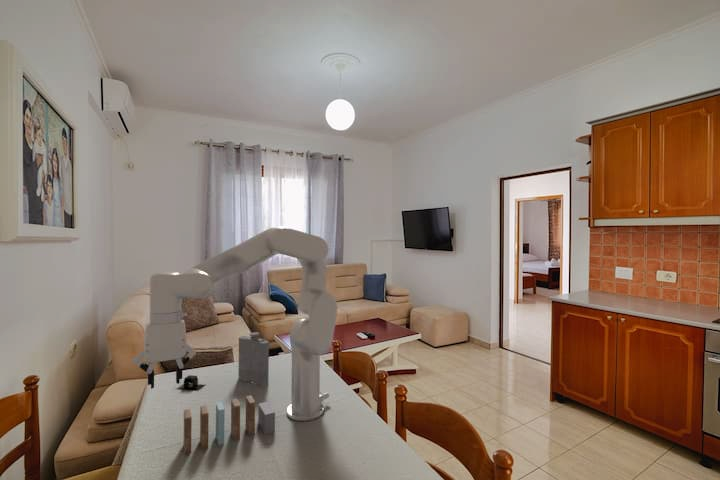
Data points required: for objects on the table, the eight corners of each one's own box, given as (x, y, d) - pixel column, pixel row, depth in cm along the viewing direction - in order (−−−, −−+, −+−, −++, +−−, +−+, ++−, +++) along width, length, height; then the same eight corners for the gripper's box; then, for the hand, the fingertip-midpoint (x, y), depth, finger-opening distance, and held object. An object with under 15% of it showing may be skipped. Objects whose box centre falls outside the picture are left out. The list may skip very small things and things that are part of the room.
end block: (267, 419, 111) (267, 401, 111) (274, 431, 104) (275, 412, 104) (258, 422, 109) (258, 403, 109) (265, 434, 102) (265, 414, 102)
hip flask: (236, 379, 143) (237, 331, 143) (244, 375, 146) (244, 329, 146) (264, 387, 135) (264, 337, 135) (271, 383, 138) (272, 334, 138)
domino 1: (189, 443, 98) (190, 408, 98) (191, 452, 93) (191, 416, 93) (183, 445, 97) (183, 410, 97) (184, 454, 93) (185, 418, 93)
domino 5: (250, 426, 107) (251, 395, 107) (254, 434, 102) (255, 401, 102) (245, 428, 106) (245, 396, 106) (249, 436, 102) (249, 403, 101)
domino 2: (206, 439, 100) (206, 405, 100) (208, 448, 96) (208, 412, 96) (200, 440, 99) (200, 406, 99) (202, 449, 95) (202, 414, 95)
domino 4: (236, 430, 104) (236, 398, 104) (239, 439, 100) (240, 405, 100) (231, 432, 104) (231, 399, 104) (234, 440, 99) (234, 406, 99)
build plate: (170, 391, 132) (170, 379, 132) (182, 383, 139) (182, 372, 139) (200, 393, 131) (200, 381, 131) (210, 385, 138) (210, 374, 138)
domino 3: (221, 434, 102) (221, 401, 102) (224, 443, 98) (224, 409, 98) (215, 436, 101) (215, 403, 101) (218, 445, 97) (218, 410, 97)
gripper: (199, 312, 100) (198, 373, 100) (128, 318, 91) (128, 385, 91) (202, 317, 94) (201, 382, 94) (126, 324, 85) (126, 397, 85)
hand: (165, 383), depth 92 cm, fingers open, 5 cm apart
